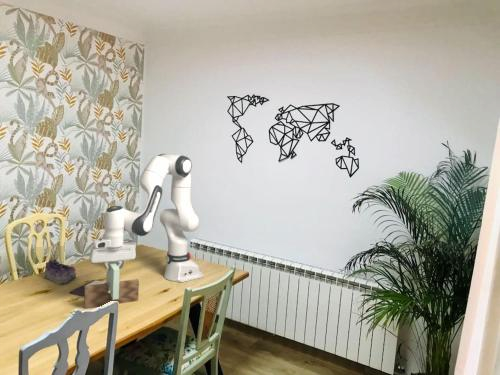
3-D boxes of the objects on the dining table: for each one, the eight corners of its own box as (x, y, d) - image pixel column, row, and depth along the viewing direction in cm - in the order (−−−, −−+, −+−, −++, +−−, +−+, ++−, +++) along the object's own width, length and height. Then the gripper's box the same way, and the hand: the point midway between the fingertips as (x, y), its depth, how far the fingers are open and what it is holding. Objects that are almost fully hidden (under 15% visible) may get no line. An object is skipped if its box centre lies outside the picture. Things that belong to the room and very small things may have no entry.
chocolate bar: (68, 292, 186) (93, 280, 203) (68, 294, 186) (93, 281, 203) (83, 295, 184) (107, 282, 201) (83, 297, 184) (107, 284, 201)
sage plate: (106, 286, 184) (107, 258, 182) (111, 285, 185) (112, 258, 183) (112, 299, 170) (113, 269, 169) (118, 298, 172) (119, 269, 170)
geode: (34, 278, 201) (36, 259, 201) (54, 274, 212) (56, 257, 212) (59, 286, 192) (61, 266, 192) (79, 282, 203) (81, 263, 203)
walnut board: (136, 298, 186) (137, 279, 185) (138, 300, 184) (138, 281, 183) (84, 306, 174) (84, 286, 172) (85, 309, 171) (85, 288, 170)
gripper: (134, 237, 183) (133, 265, 184) (89, 240, 172) (88, 270, 174) (138, 241, 177) (137, 269, 179) (91, 244, 167) (90, 274, 169)
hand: (112, 269), depth 176 cm, fingers closed on sage plate, 2 cm apart
